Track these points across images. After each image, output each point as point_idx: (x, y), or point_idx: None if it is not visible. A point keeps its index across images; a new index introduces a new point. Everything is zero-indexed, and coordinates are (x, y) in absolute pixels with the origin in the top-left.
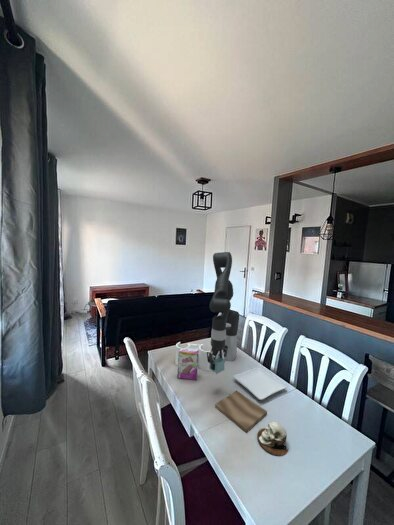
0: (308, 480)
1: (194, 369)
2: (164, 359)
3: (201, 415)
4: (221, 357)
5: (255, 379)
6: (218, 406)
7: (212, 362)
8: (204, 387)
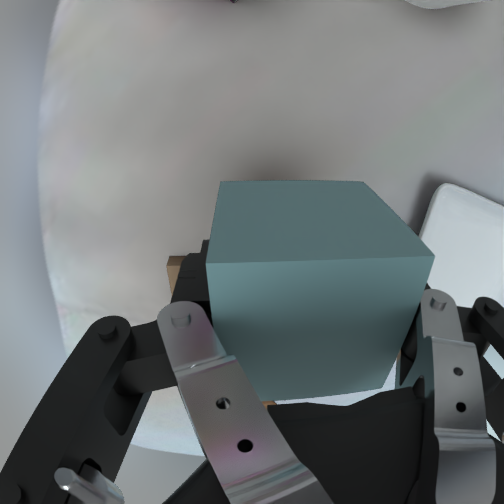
0: None
1: None
2: None
3: (85, 255)
4: (410, 344)
5: (483, 251)
6: (171, 284)
7: (147, 390)
8: (229, 93)
